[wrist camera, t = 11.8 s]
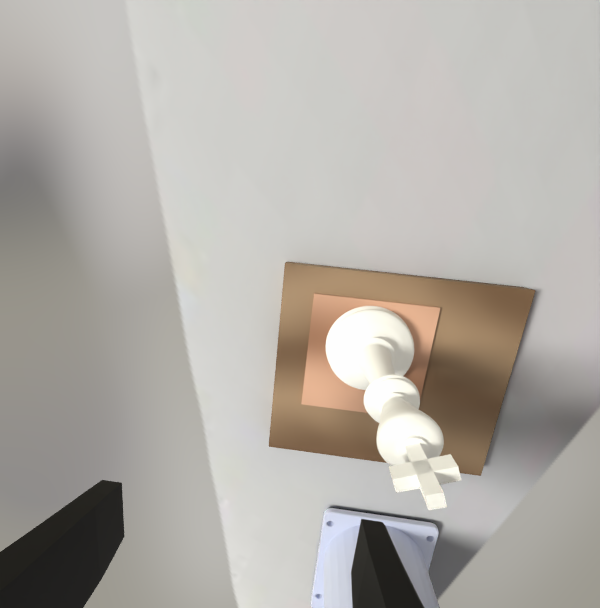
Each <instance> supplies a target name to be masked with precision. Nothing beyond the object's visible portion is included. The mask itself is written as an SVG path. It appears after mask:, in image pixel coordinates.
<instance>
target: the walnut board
mask: <svg viewBox="0 0 600 608" xmlns="http://www.w3.org/2000/svg"><path fill="white" fill-rule="evenodd" d="M534 294H535V290H532V289H528V288H524V287H516V286H507V285H497V284H488V283H479V282H470V281H460V280H451V279H442V278H433V277H424V276H414V275H405V274H396V273H387V272H377V271H368V270H359V269H350V268H340V267H331V266H322V265H313V264H304V263H294V262H286V263H285V269H284V281H283V292H282V303H281V314H280V326H279V337H278V348H277V359H276V371H275V382H274V393H273V405H272V416H271V427H270V438H269V447H277V448H284V449H291V450H298V451H306V452H313V453H320V454H327V455H335V456H342V457H349V458H356V459H363V460H371V461H378V462H385V463H387V462H386V461H385V460H384V459H383V458H382V456H381V455H380V453H379V451H378V448H377V442H376V438H377V430H378V426H379V423H378V422H377V421H375V420H374V419H373V418H372V417H371V416H370V415H369V414H368V412H367V411H366V409H365V406H364V394H365V391H366V390H361V389H357V388H354V387H351V386H349V385H347V384H346V383H344V382H343V381H342V380H340V379H339V378H338V377H337V376H336V374H335V373H334V372H333V370H332V368H331V366H330V364H329V362H328V359H327V355H326V339H327V335H328V333H329V330H330V328H331V327H332V325H333V324H334V322H335V321H336V320H337V319H338V318H339V317H340V316H342V315H343V314H344V313H346V312H348V311H350V310H352V309H354V308H358V307H362V306H378V307H383V308H386V309H388V310H390V311H392V312H394V313H396V314H397V315H398V316H399V317H400V318H402V320H403V321H404V322H405V323H406V325H407V326H408V328H409V330H410V333H411V335H412V338H413V341H414V357H413V360H412V363H411V366H410V368H409V369H408V371H407V372H406V374H405V375H404V376H403V377H406V378H407V379H409V380H410V381H412V382H413V383H414V384H415V386H416V387H417V389H418V392H419V396H420V406H419V409H418V410H420V411H422V412H424V413H425V414H427V415H428V416H429V417H431V418H432V419H433V420H434V421H435V422H436V423H437V424H438V426H439V427H440V429H441V431H442V434H443V438H444V445H443V449H442V452H441V454H440V456H444V455H449V454H451V455H452V457H453V459H454V460H455V462H456V464H457V465H458V468H459V472H460V473H465V474H472V475H479V476H481V473H482V470H483V466H484V463H485V459H486V456H487V453H488V449H489V446H490V443H491V439H492V436H493V432H494V429H495V426H496V422H497V419H498V415H499V412H500V409H501V405H502V402H503V399H504V395H505V392H506V388H507V385H508V382H509V378H510V375H511V371H512V368H513V365H514V361H515V358H516V355H517V351H518V348H519V344H520V341H521V338H522V334H523V331H524V327H525V324H526V321H527V317H528V314H529V311H530V307H531V304H532V300H533V297H534Z"/></svg>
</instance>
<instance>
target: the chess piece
mask: <svg viewBox="0 0 600 608" xmlns="http://www.w3.org/2000/svg"><path fill="white" fill-rule="evenodd" d="M326 355H327V359H328V362H329V364H330V366H331V368H332V370H333V372H334V373H335V374H336V376H337V377H338V378H339V379H340V380H342V381H343V382H344V383H346V384H347V385H349V386H351V387H354V388H357V389H361V390H366V391H365V394H364V406H365V409H366V411H367V412H368V414H369V415H370V416H371V417H372V418H373V419H374V420H375V421H377V422H378V423H379V426H378V430H377V438H376V442H377V448H378V451H379V453H380V455H381V456H382V458H383V459H384V460H385V461H386V462H387V463H388V464H390V465H391V466H389V470H390V473H391V477H392V480H393V483H394V487H395V490H396V493H397V492H402V491H408V490H413V489H418V488H420V490H421V492H422V495H423V497H424V500H425V502H426V505H427V507H428V510H433V509H438V508H444V507H447V505H446V501H445V497H444V493H443V490H442V488H441V486H440V484H445V483H450V482H456V481H461V477H460V472H459V468H458V465H457V464H456V462H455V460H454V459H453V457H452V455H451V454H449V455H444V456H440V454H441V452H442V449H443V445H444V438H443V434H442V431H441V429H440V427H439V426H438V424H437V423H436V422H435V421H434V420H433V419H432V418H431V417H429V416H428V415H427V414H425V413H424V412H422V411H420V410H418V409H419V406H420V396H419V392H418V389H417V387H416V386H415V384H414V383H413V382H412V381H410V380H409V379H407V378H406V377H403V376H404V375H405V374H406V372H407V371H408V369H409V368H410V366H411V363H412V360H413V357H414V341H413V338H412V335H411V333H410V330H409V328H408V326H407V325H406V323H405V322H404V321H403V320H402V318H400V317H399V316H398V315H397V314H396V313H394V312H392V311H390V310H388V309H386V308H383V307H378V306H362V307H358V308H354V309H352V310H350V311H348V312H346V313H344V314H343V315H342V316H340V317H339V318H338V319H337V320H336V321H335V322H334V324H333V325H332V327H331V328H330V330H329V333H328V335H327V339H326Z"/></svg>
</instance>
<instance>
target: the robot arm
mask: <svg viewBox="0 0 600 608" xmlns="http://www.w3.org/2000/svg"><path fill="white" fill-rule="evenodd" d="M438 534H439V531H438V528H437V526H436V525H435V524H434V523H431V522H424V521H417V520H410V519H404V518H397V517H390V516H383V515H376V514H369V513H363V512H356V511H349V510H342V509H335V508H328V509H326V510H325V511H324V516H323V522H322V529H321V536H320V543H319V549H318V556H317V563H316V569H315V576H314V583H313V589H312V596H311V606H312V608H440V607H439V604H438V601H437V598H436V595H435V592H434V589H433V586H432V582H431V579H430V576H429V573H428V571H429V568H430V564H431V560H432V556H433V553H434V549H435V545H436V542H437V538H438ZM123 538H124V521H123V500H122V483H119V482H112V481H105V480H102V481H100V482H99V483H97V484H96V485H94V486H93V487H92V488H90V489H89V490H88V491H86V492H85V493H83V494H82V495H80V496H79V497H78V498H76V499H75V500H73V501H72V502H71V503H69V504H68V505H66V506H65V507H64V508H62V509H61V510H59V511H58V512H57V513H55V514H54V515H52V516H51V517H50V518H48V519H47V520H45V521H44V522H43V523H41V524H40V525H38V526H37V527H36V528H34V529H33V530H31V531H30V532H28V533H27V534H26V535H24V536H23V537H21V538H20V539H18V540H17V541H15V542H14V543H13V544H11V545H10V546H8V547H7V548H5V549H4V550H3V551H1V552H0V608H83V607H84V605H85V604H86V602H87V601H88V599H89V598H90V596H91V595H92V593H93V592H94V590H95V588H96V587H97V585H98V584H99V582H100V581H101V579H102V577H103V575H104V573H105V571H106V570H107V568H108V566H109V564H110V562H111V560H112V559H113V557H114V555H115V553H116V551H117V549H118V547H119V545H120V543H121V542H122V540H123Z"/></svg>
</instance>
